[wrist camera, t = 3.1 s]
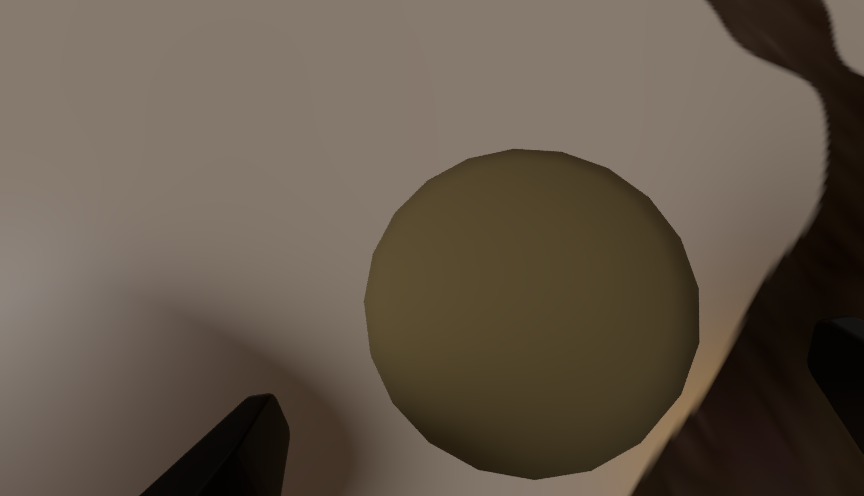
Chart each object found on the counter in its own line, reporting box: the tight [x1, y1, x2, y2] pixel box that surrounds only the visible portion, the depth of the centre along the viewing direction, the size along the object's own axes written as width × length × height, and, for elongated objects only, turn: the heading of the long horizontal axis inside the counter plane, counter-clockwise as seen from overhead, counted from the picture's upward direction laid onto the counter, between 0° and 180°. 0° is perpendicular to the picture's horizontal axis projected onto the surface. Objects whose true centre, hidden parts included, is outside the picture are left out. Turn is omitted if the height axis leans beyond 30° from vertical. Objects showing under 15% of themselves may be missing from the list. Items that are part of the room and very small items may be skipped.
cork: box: [364, 149, 699, 480], centre depth 11 cm, size 6×6×11 cm
